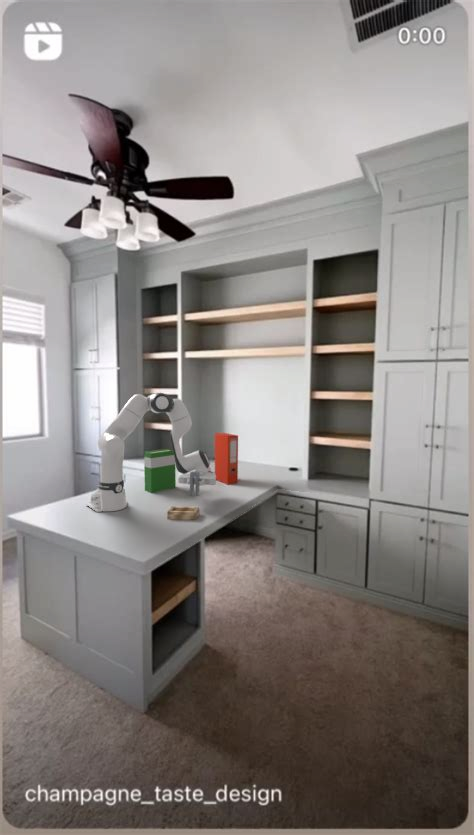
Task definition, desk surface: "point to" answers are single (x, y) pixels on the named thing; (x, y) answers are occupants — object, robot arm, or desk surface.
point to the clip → (197, 479)
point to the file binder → (226, 458)
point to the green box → (159, 470)
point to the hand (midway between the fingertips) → (194, 483)
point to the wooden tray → (183, 512)
